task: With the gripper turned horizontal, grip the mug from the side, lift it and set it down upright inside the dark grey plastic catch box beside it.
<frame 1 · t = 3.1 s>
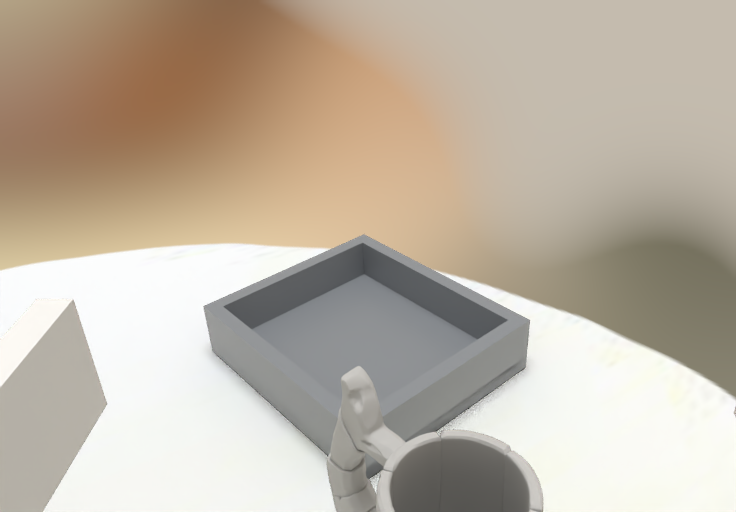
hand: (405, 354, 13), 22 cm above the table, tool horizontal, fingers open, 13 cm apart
catch box: (363, 358, 48), on the table
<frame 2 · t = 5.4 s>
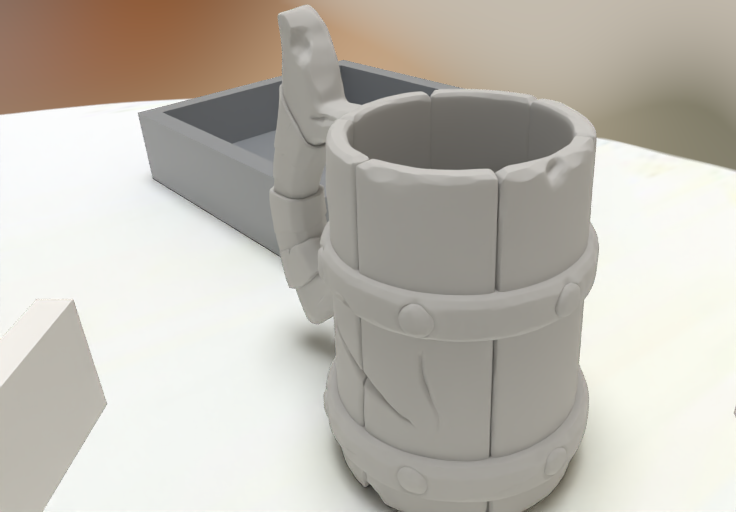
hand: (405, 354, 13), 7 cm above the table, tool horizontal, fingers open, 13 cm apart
mug: (406, 404, 22), on the table
catch box: (339, 179, 38), on the table
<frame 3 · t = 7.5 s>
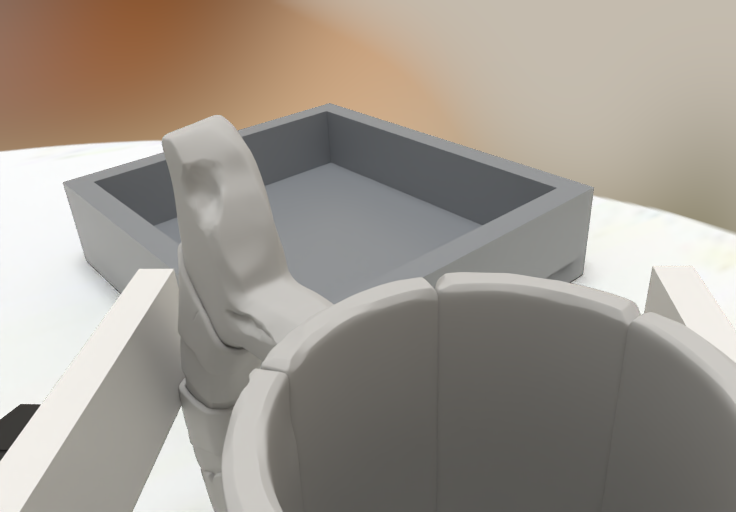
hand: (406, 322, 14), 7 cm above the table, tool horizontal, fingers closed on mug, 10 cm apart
catch box: (321, 266, 30), on the table
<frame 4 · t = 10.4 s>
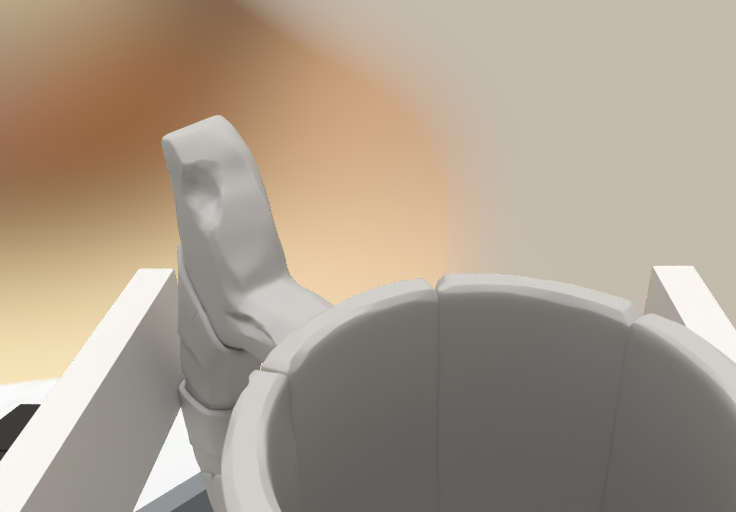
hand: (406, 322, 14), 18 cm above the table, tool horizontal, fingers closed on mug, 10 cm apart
when the fingers open (9 cm above the table, at t = 13.2 s): mug drops 1 cm, resting on catch box.
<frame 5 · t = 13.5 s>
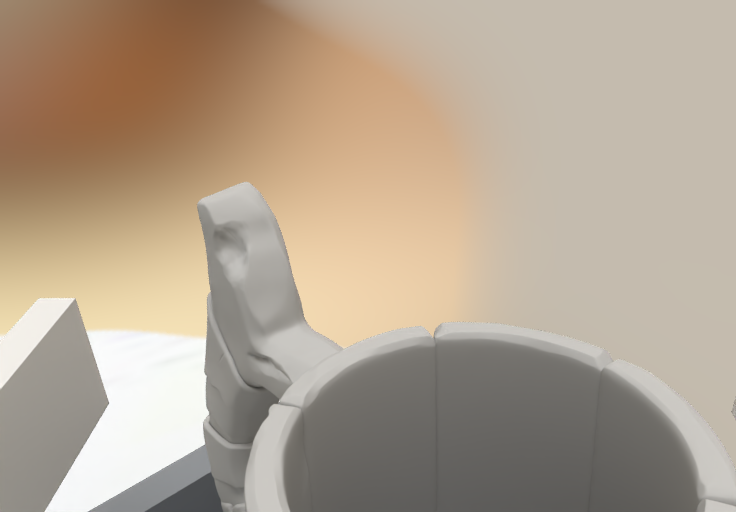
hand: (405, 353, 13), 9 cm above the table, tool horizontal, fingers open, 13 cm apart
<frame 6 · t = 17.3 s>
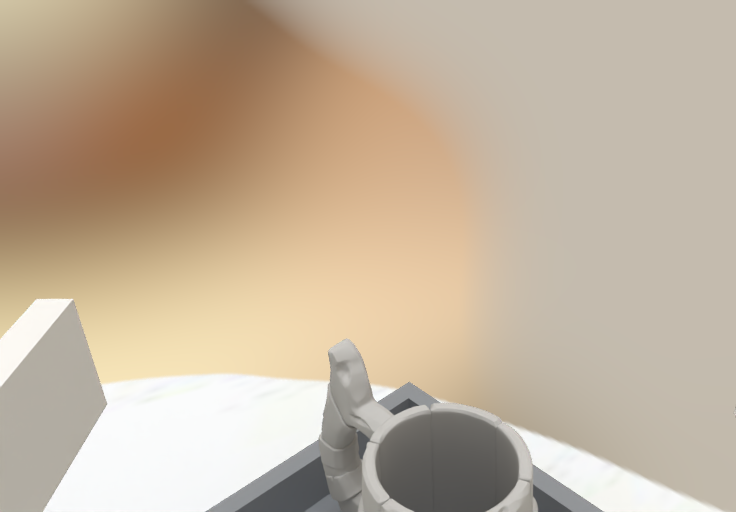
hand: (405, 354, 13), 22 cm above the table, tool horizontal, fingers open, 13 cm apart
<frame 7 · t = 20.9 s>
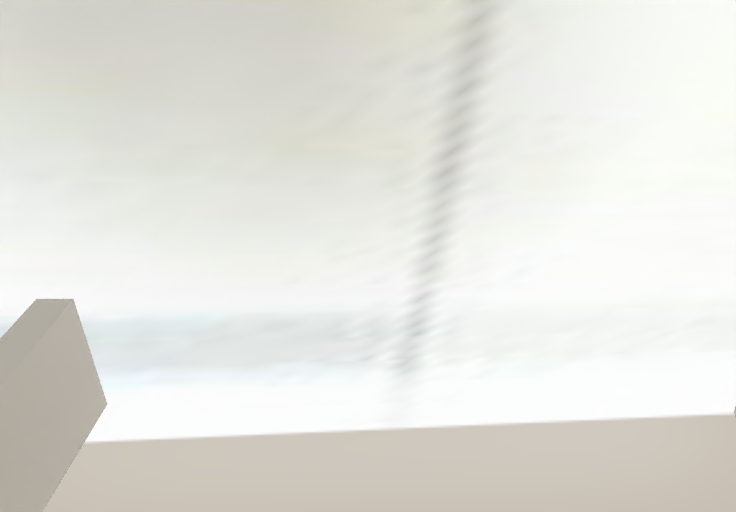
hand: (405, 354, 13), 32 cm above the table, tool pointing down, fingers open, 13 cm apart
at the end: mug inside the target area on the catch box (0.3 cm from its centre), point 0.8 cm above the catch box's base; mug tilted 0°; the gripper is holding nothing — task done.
